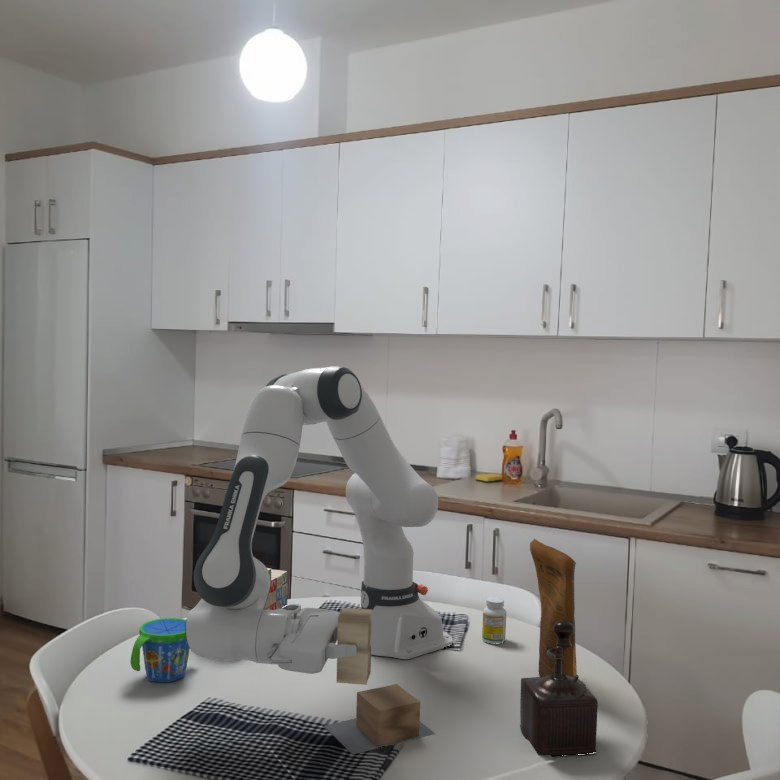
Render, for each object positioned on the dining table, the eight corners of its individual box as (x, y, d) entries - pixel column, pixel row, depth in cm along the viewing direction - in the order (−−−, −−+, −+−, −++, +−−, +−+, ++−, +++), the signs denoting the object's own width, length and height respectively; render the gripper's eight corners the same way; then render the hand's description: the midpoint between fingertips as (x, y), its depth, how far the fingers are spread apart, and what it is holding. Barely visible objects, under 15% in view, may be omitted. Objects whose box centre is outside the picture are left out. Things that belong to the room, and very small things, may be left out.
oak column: (341, 670, 137) (343, 607, 136) (370, 672, 136) (372, 609, 136) (336, 682, 132) (337, 617, 131) (366, 684, 131) (367, 619, 131)
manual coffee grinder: (601, 755, 132) (606, 648, 131) (537, 758, 130) (541, 650, 129) (567, 712, 147) (571, 617, 146) (509, 715, 145) (513, 618, 145)
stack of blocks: (265, 603, 205) (266, 556, 205) (287, 606, 203) (288, 559, 203) (222, 630, 185) (223, 578, 184) (245, 634, 183) (247, 581, 182)
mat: (402, 709, 146) (402, 707, 146) (435, 735, 137) (435, 733, 137) (323, 727, 138) (323, 725, 138) (352, 756, 129) (352, 754, 129)
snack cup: (184, 658, 167) (184, 610, 167) (214, 672, 160) (215, 623, 160) (116, 680, 155) (116, 628, 155) (145, 696, 149) (146, 643, 148)
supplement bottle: (497, 646, 179) (498, 604, 179) (477, 640, 183) (478, 599, 182) (509, 640, 183) (511, 599, 183) (490, 634, 187) (491, 594, 186)
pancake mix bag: (553, 704, 150) (558, 558, 149) (522, 665, 169) (527, 535, 168) (587, 703, 151) (593, 558, 150) (553, 664, 170) (558, 535, 169)
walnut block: (395, 716, 142) (396, 683, 142) (419, 735, 135) (420, 701, 135) (356, 725, 138) (357, 692, 138) (378, 746, 132) (379, 710, 131)
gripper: (263, 641, 125) (350, 647, 123) (294, 600, 145) (369, 605, 143) (262, 680, 125) (349, 687, 123) (293, 634, 145) (368, 639, 144)
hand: (360, 642), depth 134 cm, fingers closed on oak column, 5 cm apart
